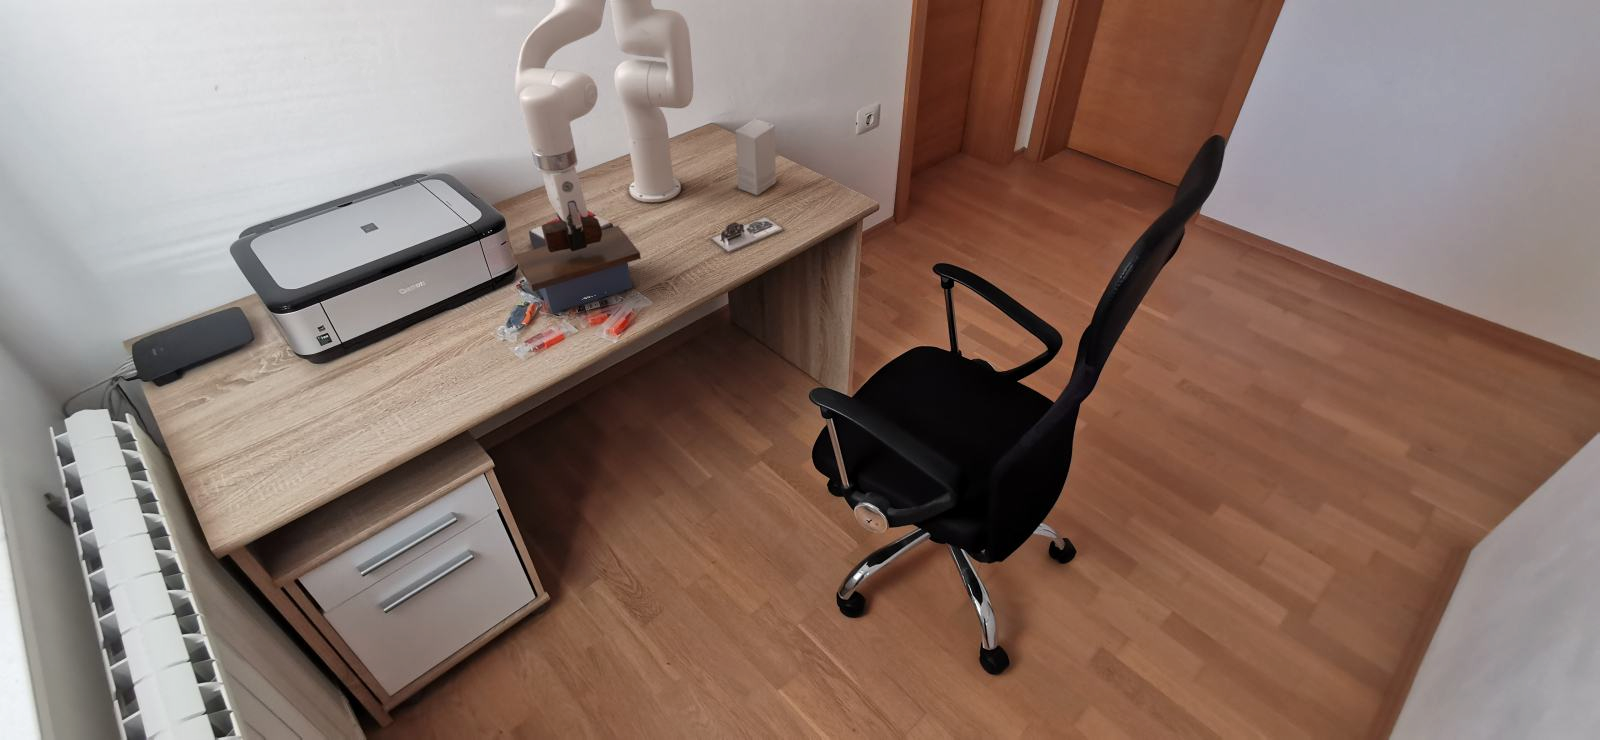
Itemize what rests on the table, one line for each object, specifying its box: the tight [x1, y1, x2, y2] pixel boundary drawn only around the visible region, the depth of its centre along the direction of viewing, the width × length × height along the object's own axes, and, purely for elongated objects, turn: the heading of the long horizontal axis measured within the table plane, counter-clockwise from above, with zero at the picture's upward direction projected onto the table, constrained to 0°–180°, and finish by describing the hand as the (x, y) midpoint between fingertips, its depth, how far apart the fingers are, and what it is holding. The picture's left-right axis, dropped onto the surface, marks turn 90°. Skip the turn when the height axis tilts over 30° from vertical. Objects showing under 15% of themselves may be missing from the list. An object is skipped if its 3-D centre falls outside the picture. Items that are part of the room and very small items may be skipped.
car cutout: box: [712, 216, 783, 253], centre depth 169 cm, size 15×7×4 cm, turn 129°
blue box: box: [538, 262, 633, 314], centre depth 153 cm, size 10×17×7 cm, turn 121°
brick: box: [541, 215, 602, 252], centre depth 146 cm, size 11×4×5 cm, turn 116°
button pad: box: [528, 209, 614, 249], centre depth 167 cm, size 11×4×15 cm
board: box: [513, 225, 642, 292], centre depth 150 cm, size 12×22×2 cm, turn 121°
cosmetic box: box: [734, 118, 777, 196], centre depth 183 cm, size 8×7×16 cm
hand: (574, 242), depth 148 cm, fingers closed on brick, 4 cm apart
